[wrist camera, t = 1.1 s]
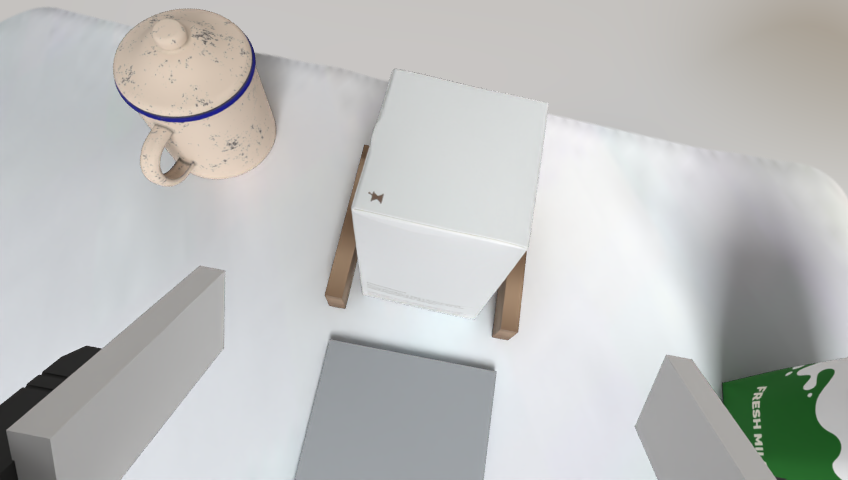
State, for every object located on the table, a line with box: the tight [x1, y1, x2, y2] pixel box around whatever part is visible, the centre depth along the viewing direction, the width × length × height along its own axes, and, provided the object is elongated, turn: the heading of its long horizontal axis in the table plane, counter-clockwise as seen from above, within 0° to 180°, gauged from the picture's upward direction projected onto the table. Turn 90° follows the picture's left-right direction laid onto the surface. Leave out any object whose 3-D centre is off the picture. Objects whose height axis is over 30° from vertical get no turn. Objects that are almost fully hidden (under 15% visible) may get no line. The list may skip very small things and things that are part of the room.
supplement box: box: [351, 69, 549, 319], centre depth 32 cm, size 9×9×15 cm
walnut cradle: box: [325, 145, 527, 340], centre depth 37 cm, size 12×13×3 cm
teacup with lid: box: [113, 9, 276, 187], centre depth 35 cm, size 12×9×12 cm
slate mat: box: [295, 339, 497, 480], centre depth 33 cm, size 12×12×1 cm
